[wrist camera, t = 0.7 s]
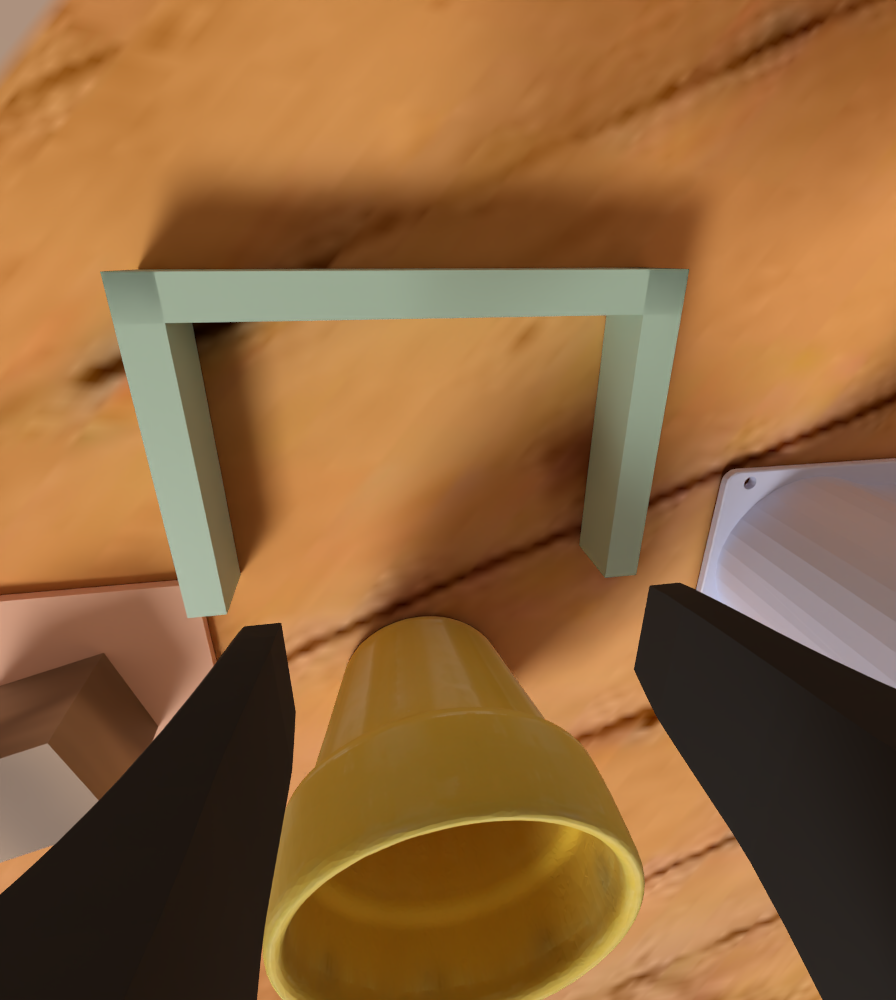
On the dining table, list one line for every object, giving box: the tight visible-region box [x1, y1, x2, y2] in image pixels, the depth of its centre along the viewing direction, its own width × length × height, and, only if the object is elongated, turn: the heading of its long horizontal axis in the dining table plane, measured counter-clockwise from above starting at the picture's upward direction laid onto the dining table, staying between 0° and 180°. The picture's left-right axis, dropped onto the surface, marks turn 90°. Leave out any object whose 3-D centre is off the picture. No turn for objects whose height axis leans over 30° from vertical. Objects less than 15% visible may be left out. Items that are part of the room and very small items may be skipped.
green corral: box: [100, 268, 689, 618], centre depth 17 cm, size 15×10×2 cm, turn 90°
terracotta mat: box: [0, 580, 217, 740], centre depth 20 cm, size 10×10×1 cm
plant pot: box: [263, 616, 645, 1000], centre depth 18 cm, size 10×10×10 cm
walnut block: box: [0, 653, 158, 863], centre depth 18 cm, size 4×4×4 cm
